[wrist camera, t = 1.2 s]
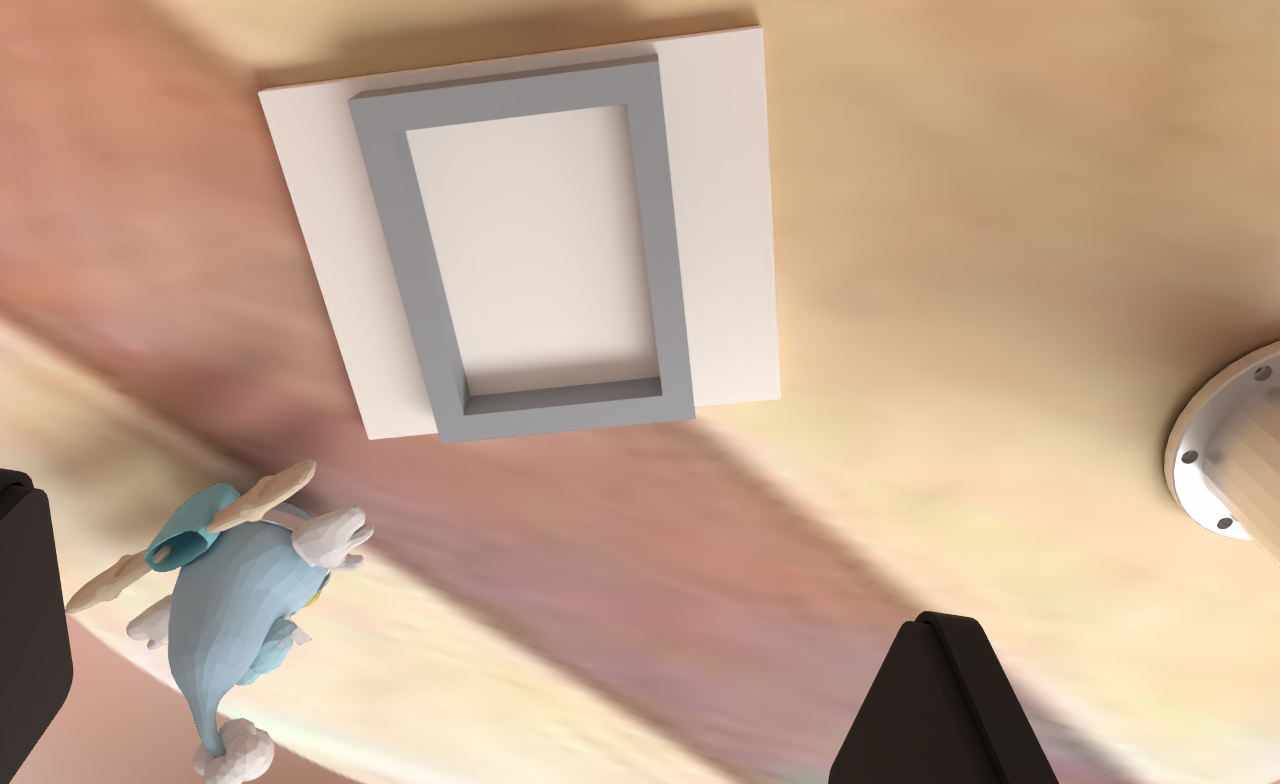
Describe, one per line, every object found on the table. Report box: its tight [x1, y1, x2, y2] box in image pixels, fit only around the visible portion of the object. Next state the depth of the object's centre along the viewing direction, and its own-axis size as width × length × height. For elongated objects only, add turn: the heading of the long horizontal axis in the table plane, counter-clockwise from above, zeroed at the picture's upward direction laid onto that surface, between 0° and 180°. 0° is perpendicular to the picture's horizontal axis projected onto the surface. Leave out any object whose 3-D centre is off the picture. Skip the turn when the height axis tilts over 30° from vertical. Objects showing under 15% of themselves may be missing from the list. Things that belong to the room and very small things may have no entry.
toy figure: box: [65, 459, 374, 784], centre depth 44 cm, size 17×10×15 cm, turn 121°
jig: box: [258, 25, 781, 444], centre depth 41 cm, size 22×18×3 cm
